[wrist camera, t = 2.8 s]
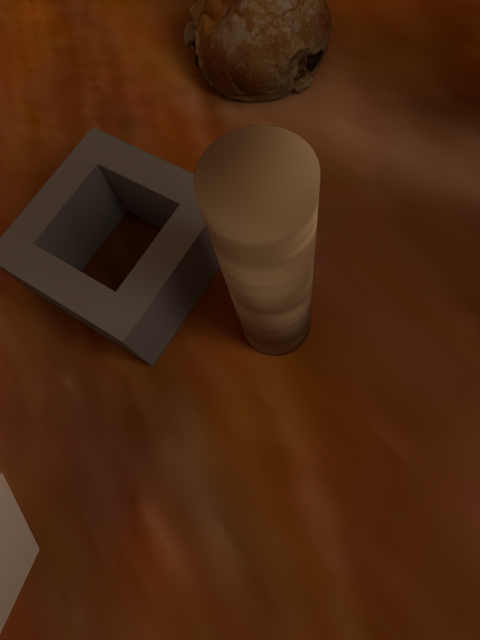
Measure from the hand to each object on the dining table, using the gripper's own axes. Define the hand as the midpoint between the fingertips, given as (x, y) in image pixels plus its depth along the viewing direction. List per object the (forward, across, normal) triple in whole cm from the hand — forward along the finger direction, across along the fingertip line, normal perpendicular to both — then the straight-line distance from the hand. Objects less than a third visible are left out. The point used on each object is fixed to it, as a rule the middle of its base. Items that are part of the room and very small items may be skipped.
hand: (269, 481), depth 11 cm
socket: (+20, -8, 0) cm, 21 cm away
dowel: (+16, +1, -3) cm, 17 cm away
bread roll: (+32, +2, +12) cm, 34 cm away
